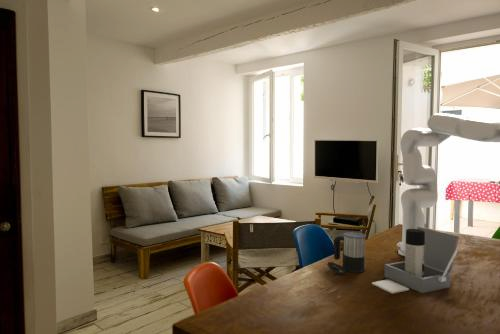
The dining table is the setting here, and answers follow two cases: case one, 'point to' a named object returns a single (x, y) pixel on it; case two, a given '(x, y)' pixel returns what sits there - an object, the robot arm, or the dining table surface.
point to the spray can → (415, 252)
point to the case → (428, 264)
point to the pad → (390, 286)
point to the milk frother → (349, 253)
